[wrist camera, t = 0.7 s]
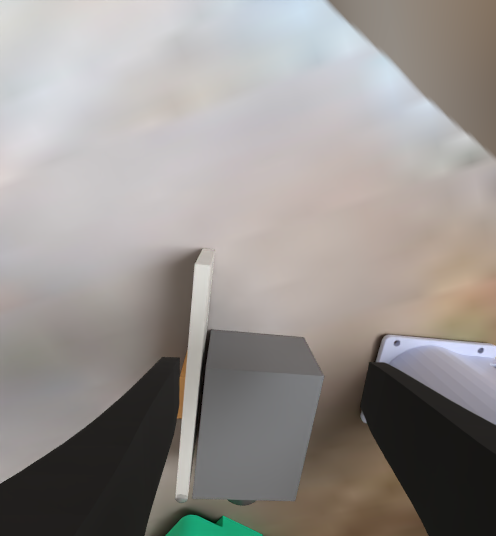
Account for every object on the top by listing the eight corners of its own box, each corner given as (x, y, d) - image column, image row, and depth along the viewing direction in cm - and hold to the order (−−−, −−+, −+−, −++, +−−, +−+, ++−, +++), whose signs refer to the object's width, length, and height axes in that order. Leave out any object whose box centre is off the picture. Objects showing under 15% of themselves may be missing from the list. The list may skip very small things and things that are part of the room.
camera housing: (304, 337, 20) (324, 376, 16) (280, 453, 23) (292, 513, 19) (211, 329, 20) (205, 367, 15) (198, 450, 22) (190, 511, 18)
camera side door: (215, 249, 18) (210, 265, 14) (195, 445, 22) (187, 502, 18) (196, 247, 18) (186, 263, 14) (180, 445, 22) (168, 502, 18)
